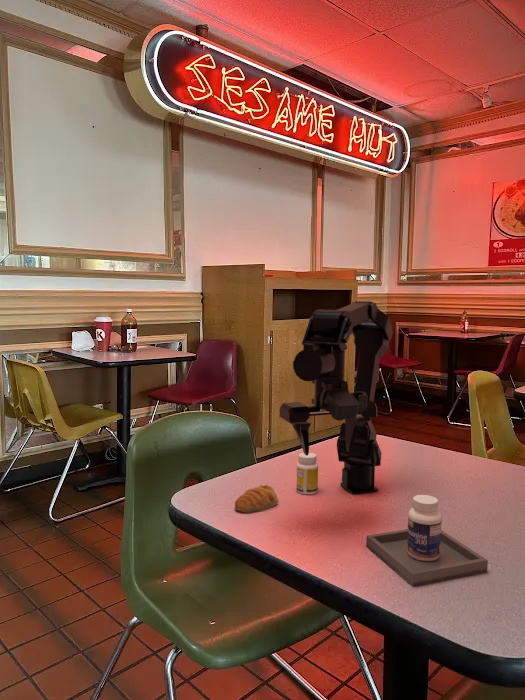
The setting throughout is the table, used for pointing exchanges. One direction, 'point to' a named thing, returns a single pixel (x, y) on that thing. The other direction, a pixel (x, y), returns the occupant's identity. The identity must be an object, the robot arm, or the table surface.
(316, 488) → the supplement bottle
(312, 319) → the robot arm
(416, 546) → the pill bottle
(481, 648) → the table surface
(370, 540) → the tray
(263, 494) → the pastry
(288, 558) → the table surface
